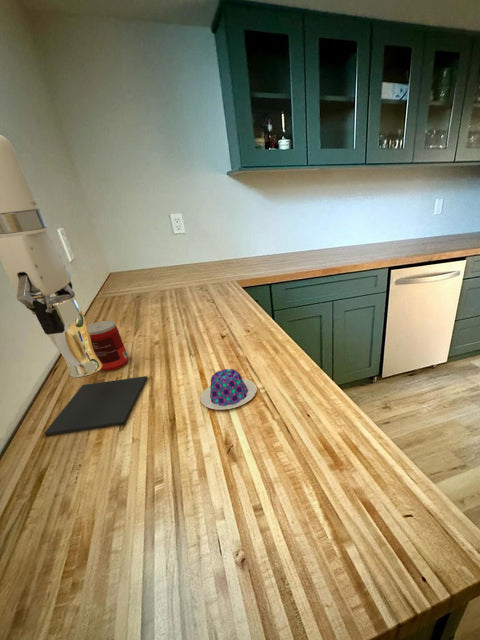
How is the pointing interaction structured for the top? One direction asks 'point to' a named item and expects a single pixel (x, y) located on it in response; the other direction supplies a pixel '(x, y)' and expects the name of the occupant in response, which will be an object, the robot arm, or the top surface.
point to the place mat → (98, 406)
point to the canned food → (108, 345)
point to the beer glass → (74, 337)
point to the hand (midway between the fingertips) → (65, 324)
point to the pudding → (228, 390)
